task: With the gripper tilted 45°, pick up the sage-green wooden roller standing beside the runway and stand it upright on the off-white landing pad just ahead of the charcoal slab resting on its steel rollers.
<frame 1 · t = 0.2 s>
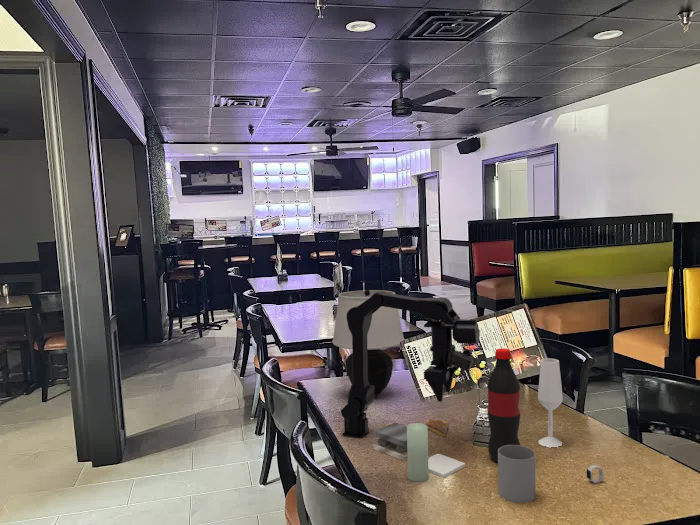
hand: (444, 396, 153), 14 cm above the table, tool pointing down, fingers open, 9 cm apart
landing pad: (440, 466, 141), on the table
cup: (516, 494, 126), on the table
table lamp: (369, 395, 202), on the table
smartwatch: (594, 482, 130), on the table
cola bottle: (504, 459, 144), on the table
shard: (441, 430, 167), on the table
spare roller: (418, 476, 136), on the table
champagne flute: (550, 443, 154), on the table
runway: (400, 449, 152), on the table
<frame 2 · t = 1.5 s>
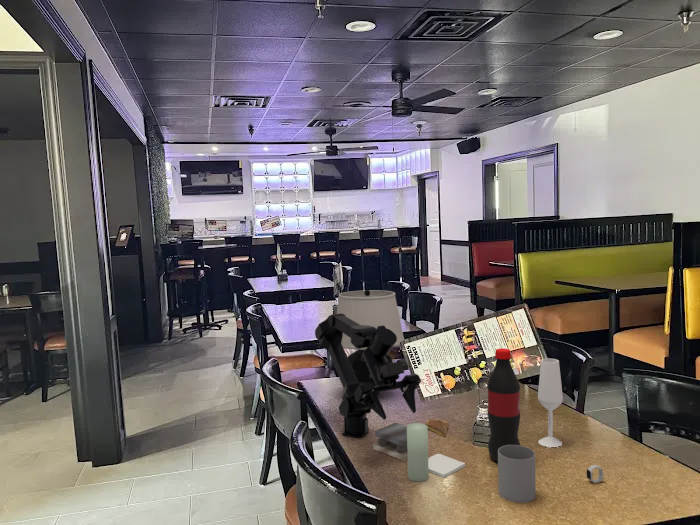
hand: (400, 415, 142), 13 cm above the table, tool tilted 45°, fingers open, 9 cm apart
nothing on the table moved.
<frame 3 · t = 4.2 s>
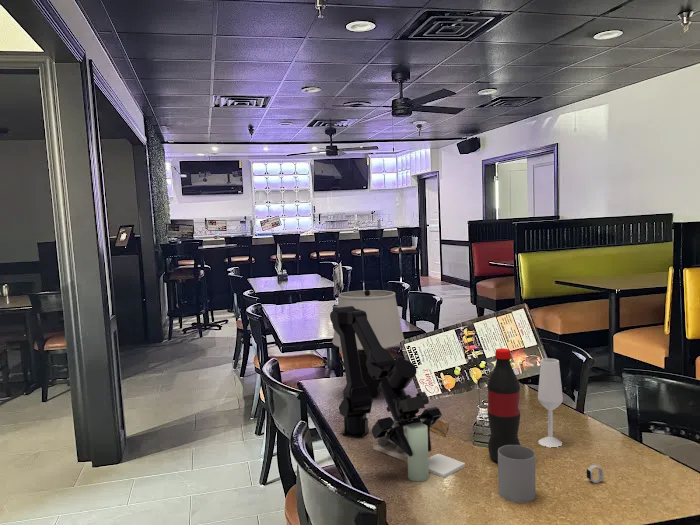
hand: (420, 453, 134), 7 cm above the table, tool tilted 45°, fingers closed on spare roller, 5 cm apart
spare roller: (418, 476, 135), on the table, touching gripper
everything else where it was.
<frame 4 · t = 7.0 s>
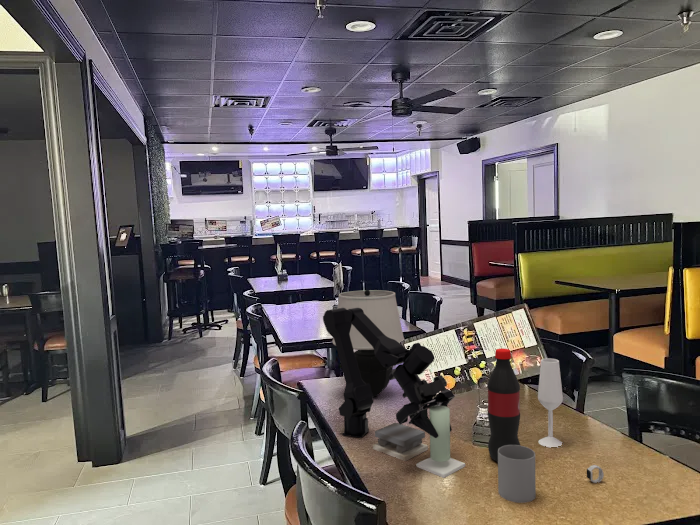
hand: (444, 434, 139), 9 cm above the table, tool tilted 45°, fingers closed on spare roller, 5 cm apart
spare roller: (440, 457, 141), point 2 cm above the table, touching gripper
everything else where it was.
when the fingers open (8 cm above the table, at t = 7.5 s): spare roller drops 1 cm, resting on landing pad.
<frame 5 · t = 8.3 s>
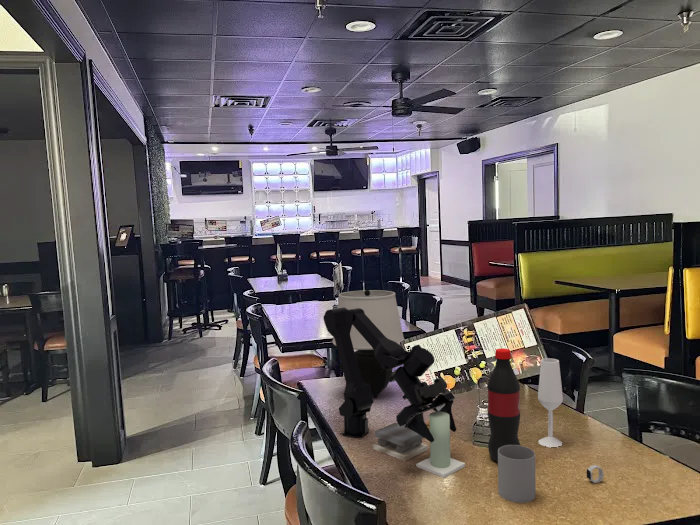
hand: (444, 436, 139), 9 cm above the table, tool tilted 45°, fingers open, 9 cm apart
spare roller: (440, 463, 141), point 1 cm above the table, touching landing pad
everything else where it was.
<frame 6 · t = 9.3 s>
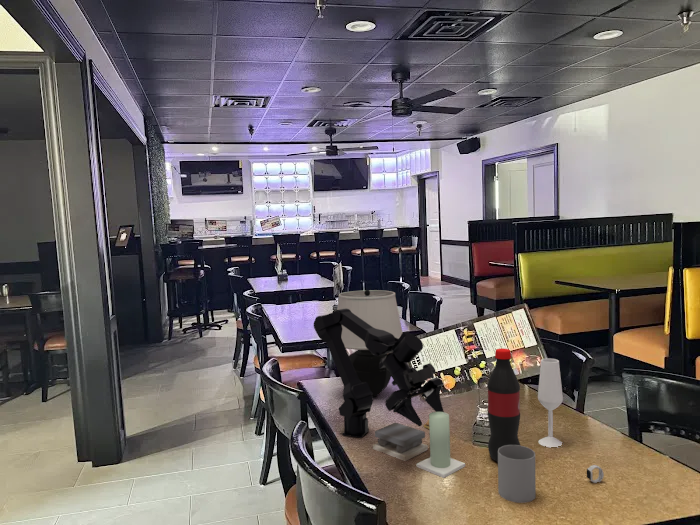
hand: (432, 420, 142), 12 cm above the table, tool tilted 45°, fingers open, 9 cm apart
nothing on the table moved.
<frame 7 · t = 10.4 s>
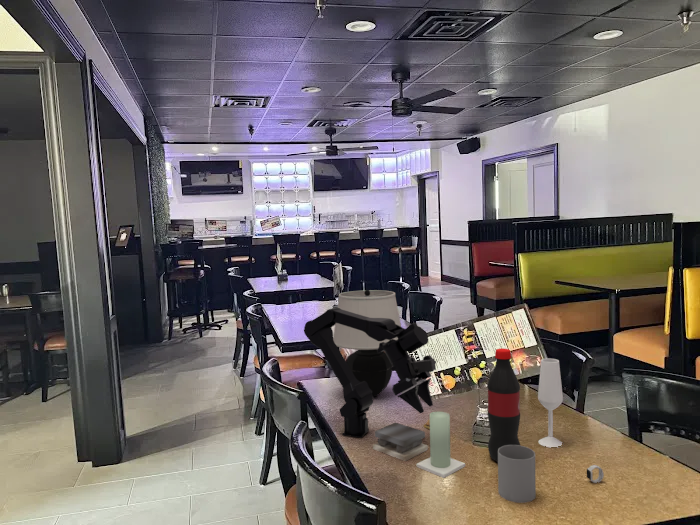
hand: (427, 409, 150), 12 cm above the table, tool tilted 30°, fingers open, 9 cm apart
nothing on the table moved.
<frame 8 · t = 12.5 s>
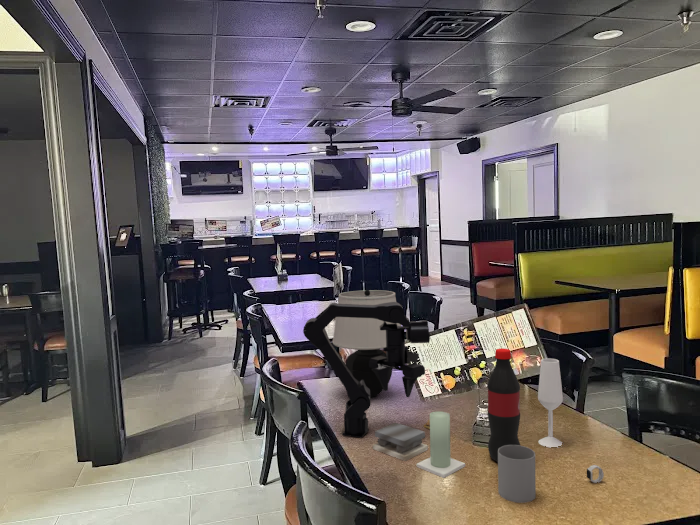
hand: (396, 393, 165), 12 cm above the table, tool pointing down, fingers open, 9 cm apart
nothing on the table moved.
at the end: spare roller 0.1 cm from the target spot, point 0.9 cm above the table; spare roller tilted 1°; the gripper is holding nothing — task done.
